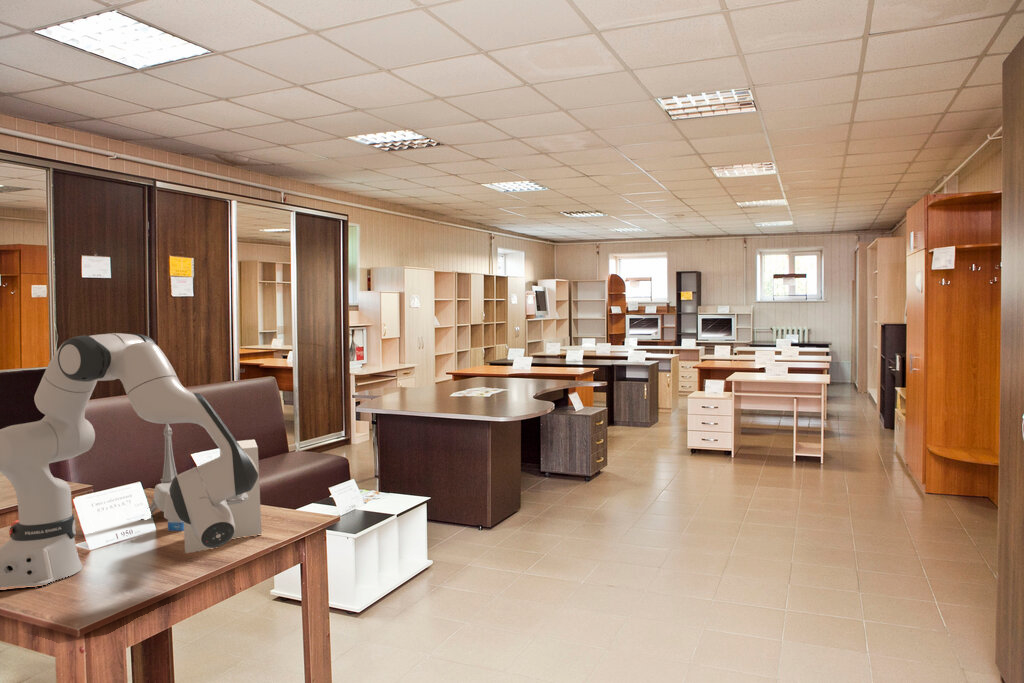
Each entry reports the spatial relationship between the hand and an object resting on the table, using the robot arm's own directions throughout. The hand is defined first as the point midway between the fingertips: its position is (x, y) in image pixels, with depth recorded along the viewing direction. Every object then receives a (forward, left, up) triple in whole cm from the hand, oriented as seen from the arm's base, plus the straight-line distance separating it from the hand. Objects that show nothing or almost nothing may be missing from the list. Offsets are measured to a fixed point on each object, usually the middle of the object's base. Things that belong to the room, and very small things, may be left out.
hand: (195, 479), depth 174 cm
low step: (0, +19, -22) cm, 29 cm away
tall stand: (+11, +25, -22) cm, 35 cm away
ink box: (-5, +39, -23) cm, 45 cm away
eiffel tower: (-9, +56, -23) cm, 61 cm away
